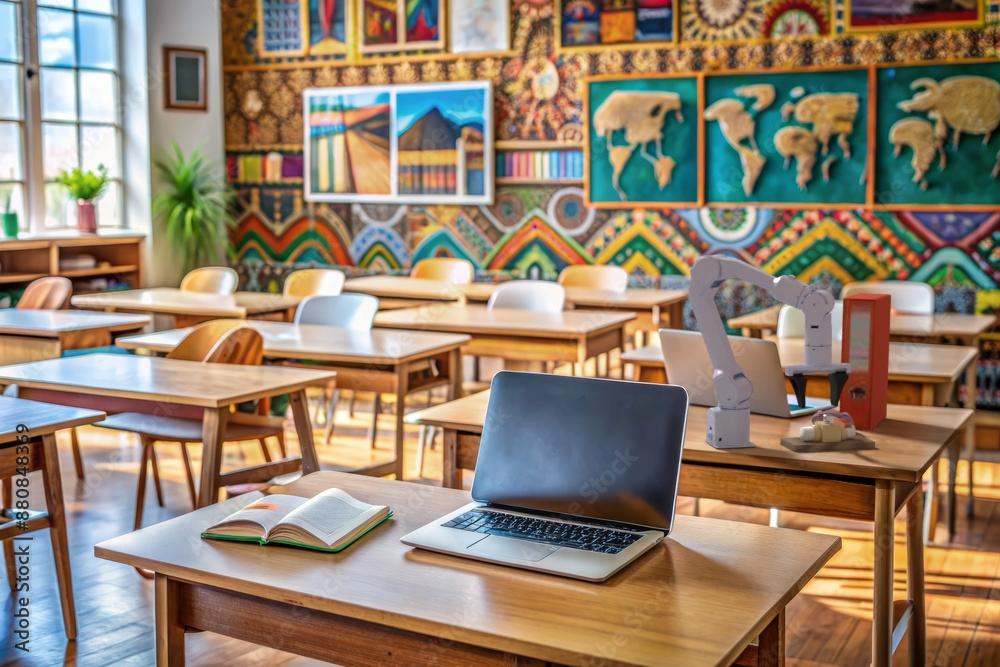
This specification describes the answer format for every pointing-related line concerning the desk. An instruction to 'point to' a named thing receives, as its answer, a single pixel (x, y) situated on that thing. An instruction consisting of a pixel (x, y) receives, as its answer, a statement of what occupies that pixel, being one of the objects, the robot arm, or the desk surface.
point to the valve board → (827, 444)
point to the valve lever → (837, 421)
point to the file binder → (866, 358)
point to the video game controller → (835, 413)
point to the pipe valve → (826, 432)
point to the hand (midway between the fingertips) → (818, 406)
